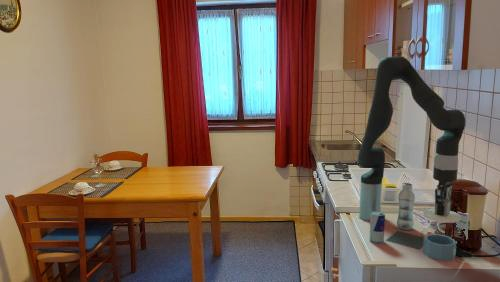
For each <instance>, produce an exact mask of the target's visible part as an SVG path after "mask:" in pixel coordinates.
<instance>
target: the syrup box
mask: <svg viewBox="0 0 500 282" xmlns="http://www.w3.org/2000/svg"><path fill="white" fill-rule="evenodd" d="M457 213H458V214H459V215H460V216H461V220H460V221H459V222H456V224H457V225H456V227H458V228H460V229H462V230H463V229H465V231H463V232H464V234H465V236H466V240H467V239H468V229H469V226H470V219H469V218H470V217H469V214H468V213H462V212H457Z"/></svg>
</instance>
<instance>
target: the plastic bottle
mask: <svg viewBox="0 0 500 282" xmlns="http://www.w3.org/2000/svg"><path fill="white" fill-rule="evenodd" d="M401 188H402V189H401V190H400V191H399V193H398V196H397V199H398V216H397V219H396V226H397V228H398V229H400V230H402V231H412V229H413V228H414V219H413V218H414V217H413V216H414V212H413V211H414V203H415V200H416V196H415V194H414V192H413V191H412V189H413V183H409V182H404V183H402V187H401Z"/></svg>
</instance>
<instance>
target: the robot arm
mask: <svg viewBox="0 0 500 282" xmlns="http://www.w3.org/2000/svg"><path fill="white" fill-rule="evenodd" d="M376 68H377V69H376V77H375V84H374V91H373V96H372V101H371V105H370V109H369V113H368V117H367V124H366V127H365V132H364V135H363V139H362V141H361V144H360V147H359V149H358V155H357V163H358V166H359V167H360V168H363V169H370V170H369V171H367V172H365V173H363V174H362V175H361V177H360V191H359V192H360V194H359V212H358V213H359V214H358V218H359V219H360V220H362V221H366V222H370V219H371V212H373V211H380V212H381V211H382V209H381V206H382V188H383V187H382V186H383V178H384V171H385V165H386V162H385V161H386V154H385V151H384V148H382V147H381V146H380V147H376V146H375V147H374V145H375V143H376V142H377V140H378V139H379V138H380V137H381V136H382V135H383V134H384V133H385V132H386V131H387V130H388V128H389V127H390V125H391V121H392V119H393V114H394V107H393V103H392V101H391V98H390V88H391V86H392V85H391V84H392V81H398V80H401V81H403V82H404V83H406V84H407V85H408V87H409V88H410V93H411V96H412V99H413V101H414V102H415V103H416V104H417V105H418V106H419V107H420V108H421V109H422V110H423V111H424V112H426V116H427V117H428V119H429V121H430V122H431V124H432V125H433V126H434V127H435V128H436V129H438V130H440V131H444V132H443V134H442V135H441V136H440V137H438V138H437V139H436V143H435V155H434V160H433V170H432V171H433V172H432V178H433V179H434V180H435V181H438V184H437V185H436V189H434V203H435V204H437V215H441V216H443V215H444V207H445V200H450V199H451V196H452V190H453V185H454V184H453V182H456V181H457V180H458V171H459V169H458V168H459V149H460V148H459V146H460V142H461V141H460V140H461V139H462V137H463V133H464V131H465V126H466V116H465V114H464V113H463V111H461V110H459V109H446V108H445V107H444V106H445V101H444V100H443V98H442V97H441V96H440V95H439V94H437V92H435V91H434V90H433V89H432V88H431V87H430V86H429V85H428V84H427V83H426V81H425V80H423V78H422V77H421V76H420V73H418V72H417V70H416V69H415V67H414V66H413V64H412V63H411V62H410V61H409V60H408V59H407V58H406V57H405V56H401V55H396V56H387V57H383V58H381V60H380V61H379V62H378V65H377V67H376ZM439 199H440V200H441V201H439Z"/></svg>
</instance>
